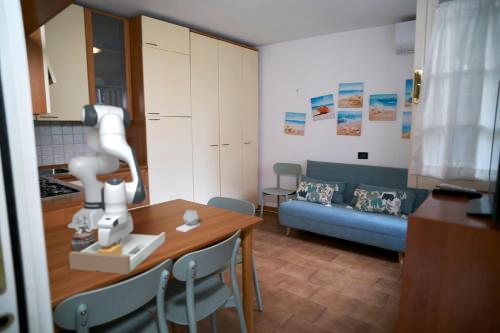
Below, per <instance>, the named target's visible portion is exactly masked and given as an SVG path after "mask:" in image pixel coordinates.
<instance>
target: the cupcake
mask: <svg viewBox="0 0 500 333" xmlns="http://www.w3.org/2000/svg"><path fill="white" fill-rule="evenodd" d="M95 241H96V235H95V234H94V232H93V230H91V229H90V227H89V226H83V227H78V228H76V229H75V231H74V233H73V235H72V238H71V241H70V242H71V245H72V248H73V251H77V252H81V251H82V250H84V249H86V248H88V247H89V246H91V245H93V244H94V243H95Z"/></svg>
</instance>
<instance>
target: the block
mask: <svg viewBox="0 0 500 333" xmlns="http://www.w3.org/2000/svg"><path fill="white" fill-rule="evenodd" d="M97 253H102V254H115V255H121V254H122V244H119V245H117V246H115V245H110V246H108V247H102V248H101V249H99V250H97Z"/></svg>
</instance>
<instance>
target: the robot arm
mask: <svg viewBox="0 0 500 333" xmlns="http://www.w3.org/2000/svg"><path fill="white" fill-rule="evenodd" d="M80 119H81V122H82V124H83V125H84V126H86V127H87V128H88V129H87V135H86V141H85V143H86V144H85V145H86V146H87V148H88V149H89V150H91V151H93V152H94V153H95V154H89V155H88V154H87V155H79V156H75V157H71V159H70V160H69V161H68V164H67V168H68V172H69V173H70V174H71V176H74V177H75V178H77V179H78V180H79V182H80V183H81V184H82V186H83V191H84V197H85V200H84V201H82V202H81V204H80V205H81V206H82V205H83V206H82V208H80V209H79V210H78V211H77V212H76V213H74V214H73V216H72V221H71V222H70V223H69V224H68V225H67V228H70V229H75V230H76V228H78V227H83V226H89V227H90V229H91V230H92V231H93V230H97V240H98V241H99V245H100V246H102V247H108V246H110V245H111V244H113V245H115V246H117V245H119V244H122V241H123V237H124V236H125V235H127V234H131V232H133V231H134V223H133V217H132V215H131V212H129V211H128V206H127V205H140V204H142V203H143V202H144V201H145V200H146V198H147V189H146V186H145V184H144V181H143V177H142V173H141V170H140V165H139V161H138V159H137V154H136V152H135V149H134V148H133V147H131V146H129V143H128V142H127V138H126V129H127V128H129V126H130V124H131V120H132V118H131V113H130V111H129V109H127V108H125V107H119V106H118V107H117V106H114V105H109V104H107V105H102V104H93V103H92V104H90V103H89V104H84V106H83V107H82V108H81V111H80ZM120 161H123V162H124V163H126V164H127V165H128V167H129V171H130V175H131V178H132V181H129V182H126V181H125V180H124V179H123V178H120V177H113V178H107V179H106V180H105V182H102V181H101V180H98V178H97V176H100V175H101V176H102V175H108V174H113V173H115V172H117V171H118V170H119V167H120ZM98 241H97V242H98Z"/></svg>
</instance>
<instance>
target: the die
mask: <svg viewBox="0 0 500 333" xmlns="http://www.w3.org/2000/svg"><path fill="white" fill-rule="evenodd" d="M182 219H183V222H184V223H185V224H184V225H185V226H186V225H197V224H198V223H199V222H198V221H199V220H200V216H199V214H198V211H197V210H196V209H195V210H194V209H186V210H185V213H184V214H183V216H182Z"/></svg>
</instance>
